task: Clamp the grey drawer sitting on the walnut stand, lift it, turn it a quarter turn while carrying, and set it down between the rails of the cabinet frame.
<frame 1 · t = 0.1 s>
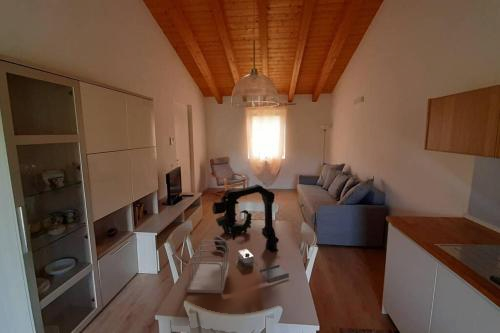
hand: (230, 236, 144), 15 cm above the table, fingers open, 9 cm apart
stand a: (245, 265, 140), on the table
cabinet frame: (274, 275, 131), on the table
file sorter: (210, 278, 129), on the table
grey drawer: (245, 263, 140), point 1 cm above the table, touching stand a
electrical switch: (221, 251, 157), on the table
toy figurine: (235, 233, 184), on the table
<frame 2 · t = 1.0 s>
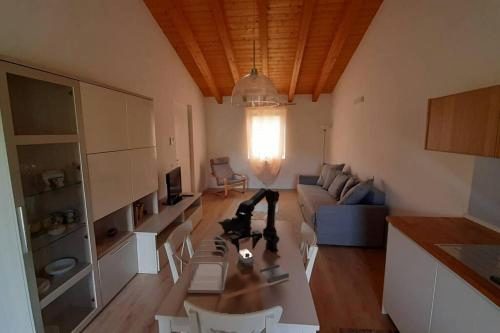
hand: (245, 251, 139), 9 cm above the table, fingers open, 9 cm apart
nothing on the table moved.
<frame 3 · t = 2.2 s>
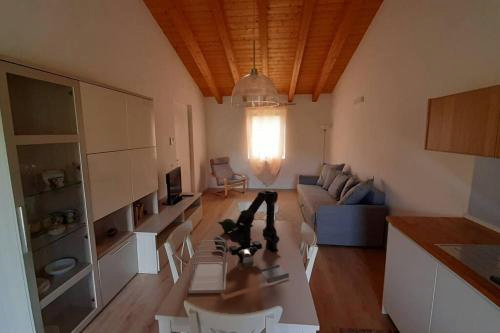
hand: (245, 261, 140), 3 cm above the table, fingers closed on grey drawer, 5 cm apart
grey drawer: (245, 263, 140), point 1 cm above the table, touching gripper, stand a
everything else where it was.
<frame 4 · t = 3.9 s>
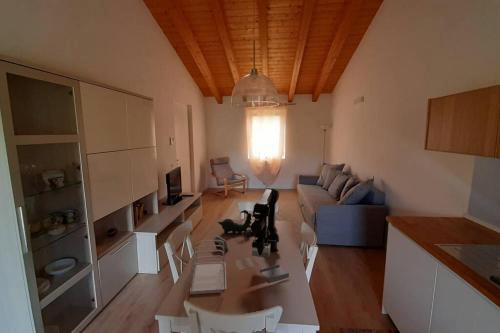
hand: (261, 252, 133), 11 cm above the table, fingers closed on grey drawer, 5 cm apart
grey drawer: (261, 254, 133), point 10 cm above the table, touching gripper
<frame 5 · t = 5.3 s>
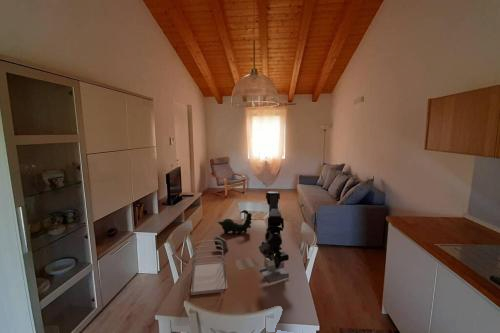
hand: (274, 265, 130), 6 cm above the table, fingers closed on grey drawer, 5 cm apart
grey drawer: (274, 267, 130), point 5 cm above the table, touching gripper
when the fingers open (4 cm above the table, at t = 6.0 s): grey drawer drops 2 cm, resting on cabinet frame.
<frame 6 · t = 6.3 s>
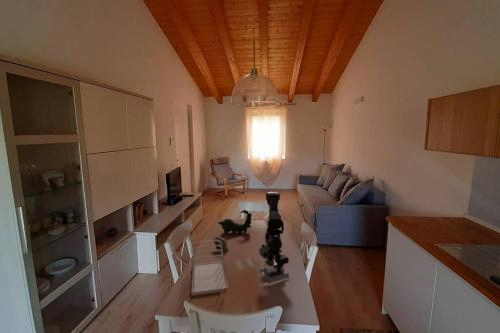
hand: (274, 267, 130), 4 cm above the table, fingers open, 8 cm apart
grey drawer: (274, 272, 131), point 1 cm above the table, touching cabinet frame
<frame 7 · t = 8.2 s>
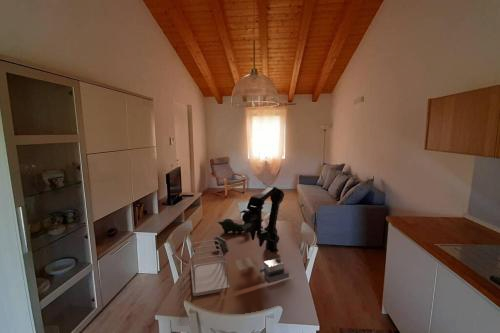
hand: (256, 243, 142), 12 cm above the table, fingers open, 9 cm apart
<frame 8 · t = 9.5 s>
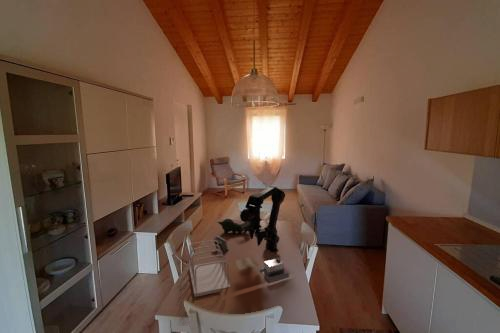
hand: (255, 242, 143), 12 cm above the table, fingers open, 9 cm apart
at the end: grey drawer inside the target area on the cabinet frame (0.0 cm from its centre), point 1.5 cm above the cabinet frame's base; grey drawer tilted 0°; the gripper is holding nothing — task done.
